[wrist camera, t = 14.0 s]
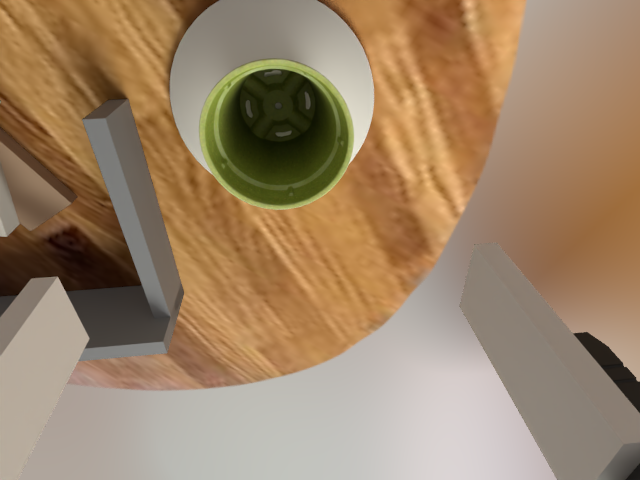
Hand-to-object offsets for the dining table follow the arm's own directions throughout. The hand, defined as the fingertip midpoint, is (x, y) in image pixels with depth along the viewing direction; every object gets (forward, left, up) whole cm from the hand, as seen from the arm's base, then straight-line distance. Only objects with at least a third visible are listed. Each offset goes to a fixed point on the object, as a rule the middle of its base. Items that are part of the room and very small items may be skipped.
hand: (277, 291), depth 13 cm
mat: (0, 0, -23) cm, 23 cm away
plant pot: (0, 0, -22) cm, 22 cm away
